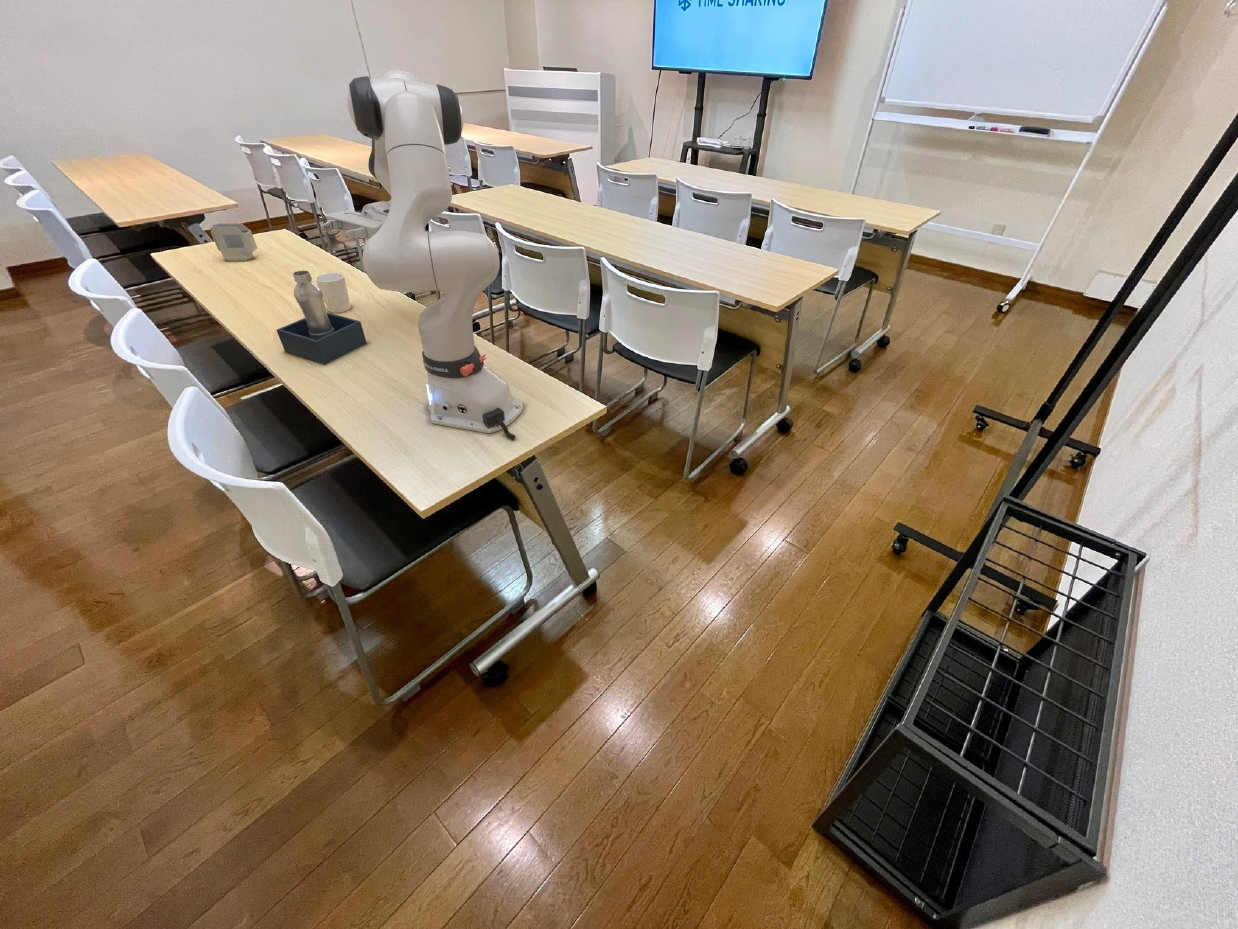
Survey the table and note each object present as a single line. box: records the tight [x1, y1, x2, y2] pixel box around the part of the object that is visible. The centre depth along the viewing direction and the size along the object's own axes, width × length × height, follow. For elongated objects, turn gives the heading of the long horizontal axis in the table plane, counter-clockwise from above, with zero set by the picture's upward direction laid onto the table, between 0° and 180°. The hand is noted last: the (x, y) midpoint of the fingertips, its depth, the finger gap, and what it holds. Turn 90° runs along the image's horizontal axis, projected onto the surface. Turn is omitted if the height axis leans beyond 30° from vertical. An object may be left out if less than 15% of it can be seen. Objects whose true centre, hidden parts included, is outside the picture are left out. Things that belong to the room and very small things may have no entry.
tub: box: [275, 311, 368, 366], centre depth 141 cm, size 15×15×7 cm
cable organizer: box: [209, 222, 258, 262], centre depth 192 cm, size 7×12×12 cm, turn 102°
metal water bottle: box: [292, 270, 335, 340], centre depth 137 cm, size 6×7×20 cm
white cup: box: [315, 272, 352, 314], centre depth 161 cm, size 8×8×10 cm
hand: (334, 231), depth 134 cm, fingers open, 8 cm apart
